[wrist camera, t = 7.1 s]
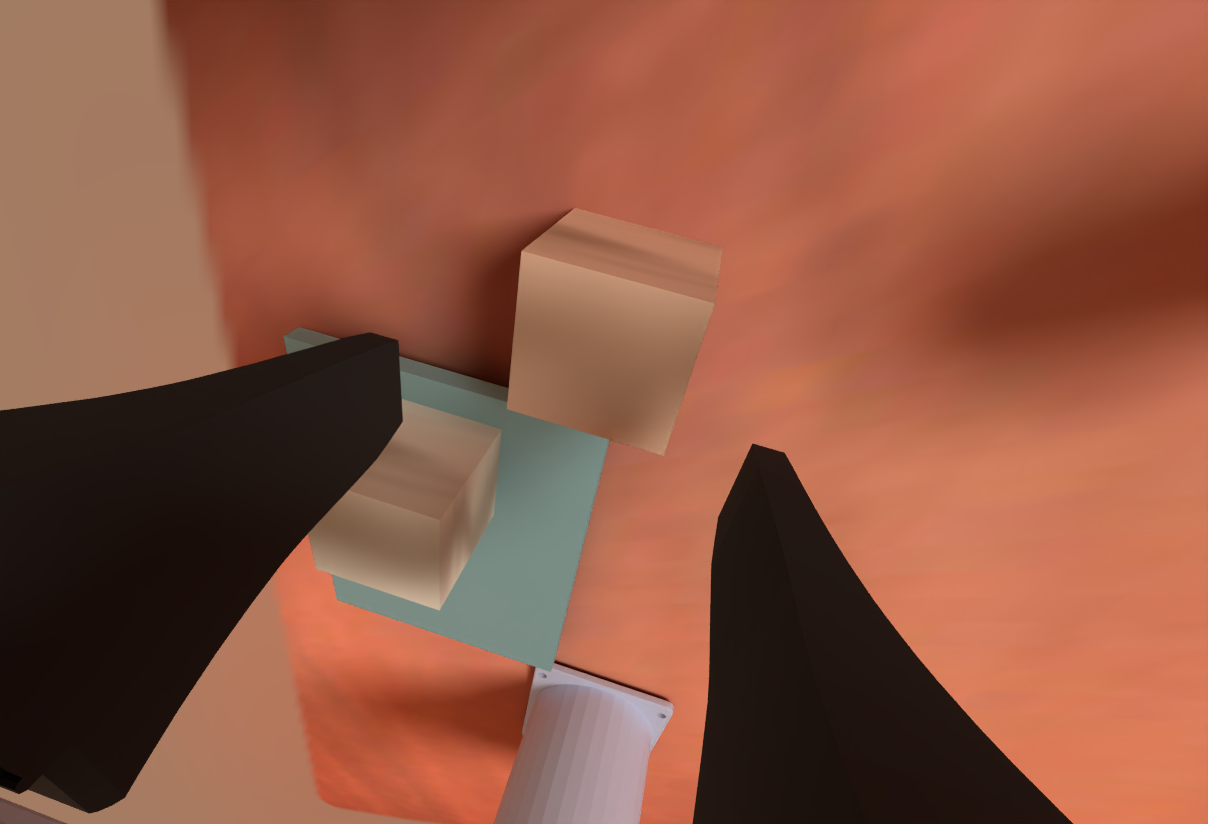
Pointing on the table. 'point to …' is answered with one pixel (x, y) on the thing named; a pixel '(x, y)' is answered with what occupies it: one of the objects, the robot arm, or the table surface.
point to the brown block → (610, 327)
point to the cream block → (414, 508)
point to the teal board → (502, 522)
